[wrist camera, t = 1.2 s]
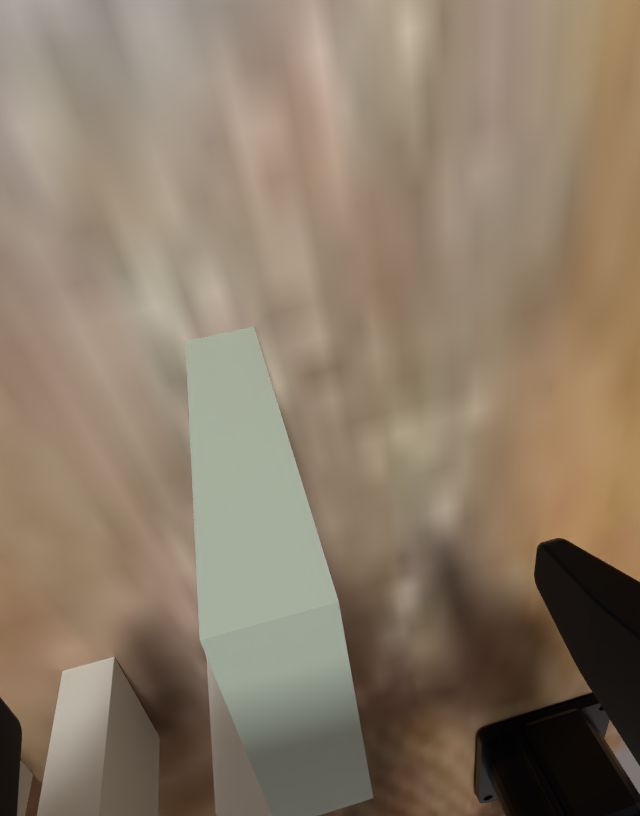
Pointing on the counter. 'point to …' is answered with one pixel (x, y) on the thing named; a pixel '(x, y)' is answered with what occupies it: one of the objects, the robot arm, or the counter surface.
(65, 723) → the domino
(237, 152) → the counter surface
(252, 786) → the domino
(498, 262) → the counter surface
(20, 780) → the domino
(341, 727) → the domino
